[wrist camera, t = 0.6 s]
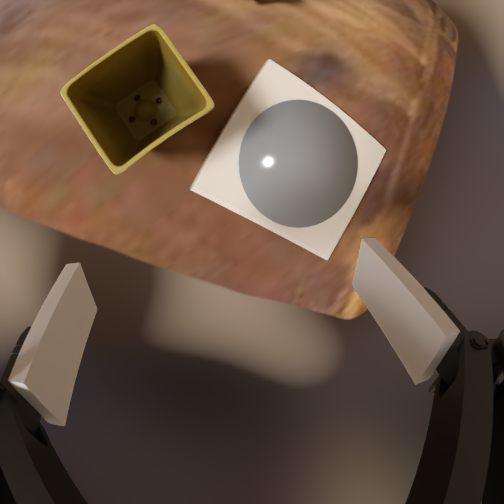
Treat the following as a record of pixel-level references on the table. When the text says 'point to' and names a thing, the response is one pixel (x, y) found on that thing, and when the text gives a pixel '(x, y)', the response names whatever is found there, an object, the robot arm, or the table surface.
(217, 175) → the tile stand
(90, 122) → the flower pot
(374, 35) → the table surface
